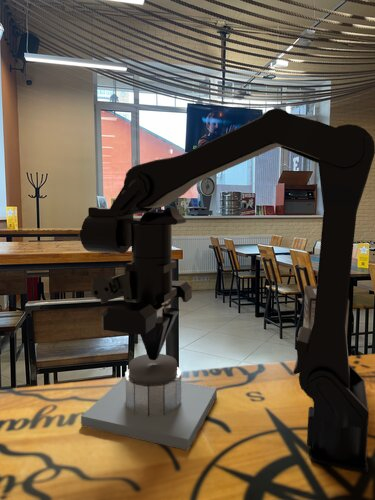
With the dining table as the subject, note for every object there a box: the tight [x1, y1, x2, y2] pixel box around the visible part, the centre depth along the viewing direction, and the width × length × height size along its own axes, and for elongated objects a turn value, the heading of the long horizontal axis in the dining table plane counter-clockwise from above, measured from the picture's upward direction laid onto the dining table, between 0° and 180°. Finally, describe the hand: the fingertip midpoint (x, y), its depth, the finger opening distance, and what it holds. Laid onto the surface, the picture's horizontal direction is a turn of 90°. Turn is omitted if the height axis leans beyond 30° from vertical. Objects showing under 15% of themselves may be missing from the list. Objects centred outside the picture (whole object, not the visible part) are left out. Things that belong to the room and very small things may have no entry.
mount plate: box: [80, 376, 218, 451], centre depth 58 cm, size 16×14×2 cm
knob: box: [128, 353, 178, 385], centre depth 57 cm, size 7×7×5 cm
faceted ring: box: [124, 366, 182, 417], centre depth 58 cm, size 8×8×4 cm
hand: (153, 359), depth 57 cm, fingers closed
